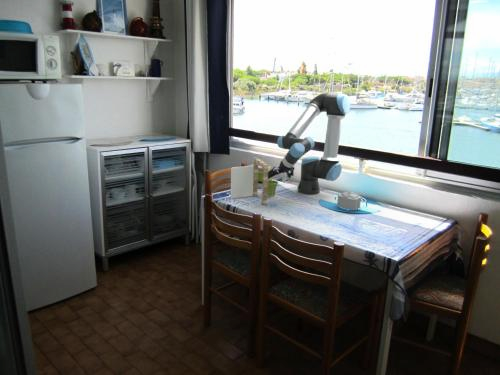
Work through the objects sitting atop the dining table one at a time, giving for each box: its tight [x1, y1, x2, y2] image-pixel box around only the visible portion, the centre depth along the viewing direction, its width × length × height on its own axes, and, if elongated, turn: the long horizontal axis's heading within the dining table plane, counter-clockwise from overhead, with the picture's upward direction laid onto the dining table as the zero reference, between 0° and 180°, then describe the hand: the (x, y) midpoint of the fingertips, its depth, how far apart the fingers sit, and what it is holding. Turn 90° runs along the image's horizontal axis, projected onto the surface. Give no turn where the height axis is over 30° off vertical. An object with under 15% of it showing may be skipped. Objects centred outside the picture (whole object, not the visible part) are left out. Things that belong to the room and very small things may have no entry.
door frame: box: [253, 157, 269, 206], centre depth 248 cm, size 21×2×24 cm, turn 17°
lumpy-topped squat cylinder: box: [336, 191, 362, 211], centre depth 240 cm, size 10×13×9 cm
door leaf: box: [230, 165, 254, 199], centre depth 252 cm, size 15×3×19 cm, turn 117°
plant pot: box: [267, 179, 279, 197], centre depth 261 cm, size 9×9×9 cm
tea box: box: [248, 163, 273, 189], centre depth 278 cm, size 15×10×15 cm
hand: (273, 182), depth 253 cm, fingers open, 13 cm apart
